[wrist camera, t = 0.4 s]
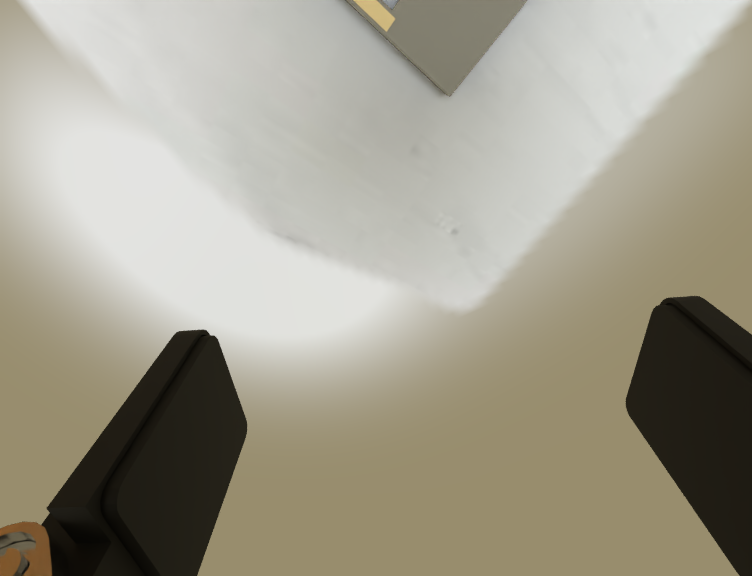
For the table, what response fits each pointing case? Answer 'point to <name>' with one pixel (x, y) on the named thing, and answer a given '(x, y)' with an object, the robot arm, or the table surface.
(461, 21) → the keyhole board
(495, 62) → the table surface
